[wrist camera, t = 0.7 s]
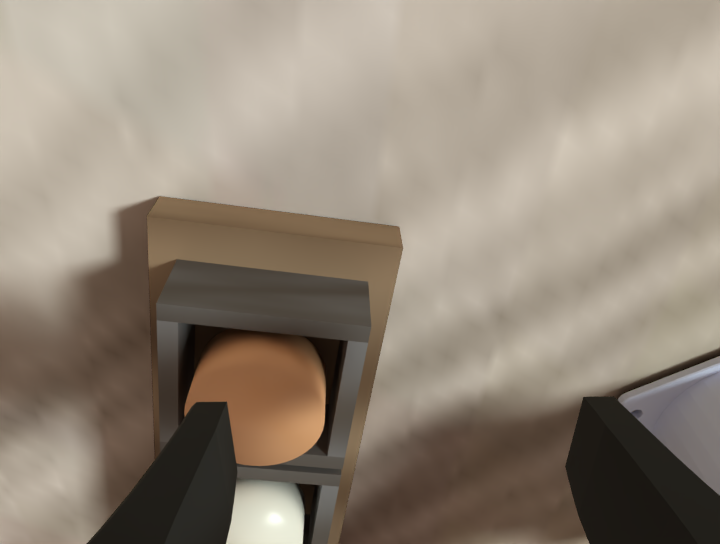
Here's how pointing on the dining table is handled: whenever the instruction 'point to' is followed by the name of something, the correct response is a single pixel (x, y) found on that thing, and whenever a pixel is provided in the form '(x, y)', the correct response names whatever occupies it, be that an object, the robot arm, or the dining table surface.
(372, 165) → the dining table surface
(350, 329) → the button panel
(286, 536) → the cream button
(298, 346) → the terracotta button
